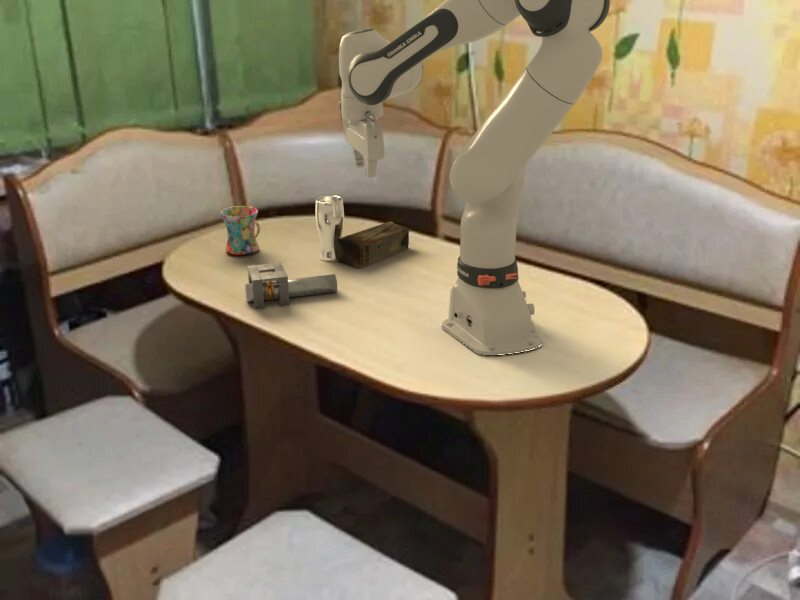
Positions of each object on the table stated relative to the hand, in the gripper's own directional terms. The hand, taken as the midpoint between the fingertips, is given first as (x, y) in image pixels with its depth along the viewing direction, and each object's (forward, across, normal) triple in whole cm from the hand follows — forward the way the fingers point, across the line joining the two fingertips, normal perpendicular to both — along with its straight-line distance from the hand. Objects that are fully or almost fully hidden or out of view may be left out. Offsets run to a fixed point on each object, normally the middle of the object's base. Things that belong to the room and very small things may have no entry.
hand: (365, 171), depth 195 cm
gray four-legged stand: (+26, -2, +24) cm, 35 cm away
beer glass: (+26, +20, +5) cm, 33 cm away
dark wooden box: (+27, +18, -6) cm, 32 cm away
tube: (+26, -2, +19) cm, 32 cm away
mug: (+26, +30, +24) cm, 46 cm away
